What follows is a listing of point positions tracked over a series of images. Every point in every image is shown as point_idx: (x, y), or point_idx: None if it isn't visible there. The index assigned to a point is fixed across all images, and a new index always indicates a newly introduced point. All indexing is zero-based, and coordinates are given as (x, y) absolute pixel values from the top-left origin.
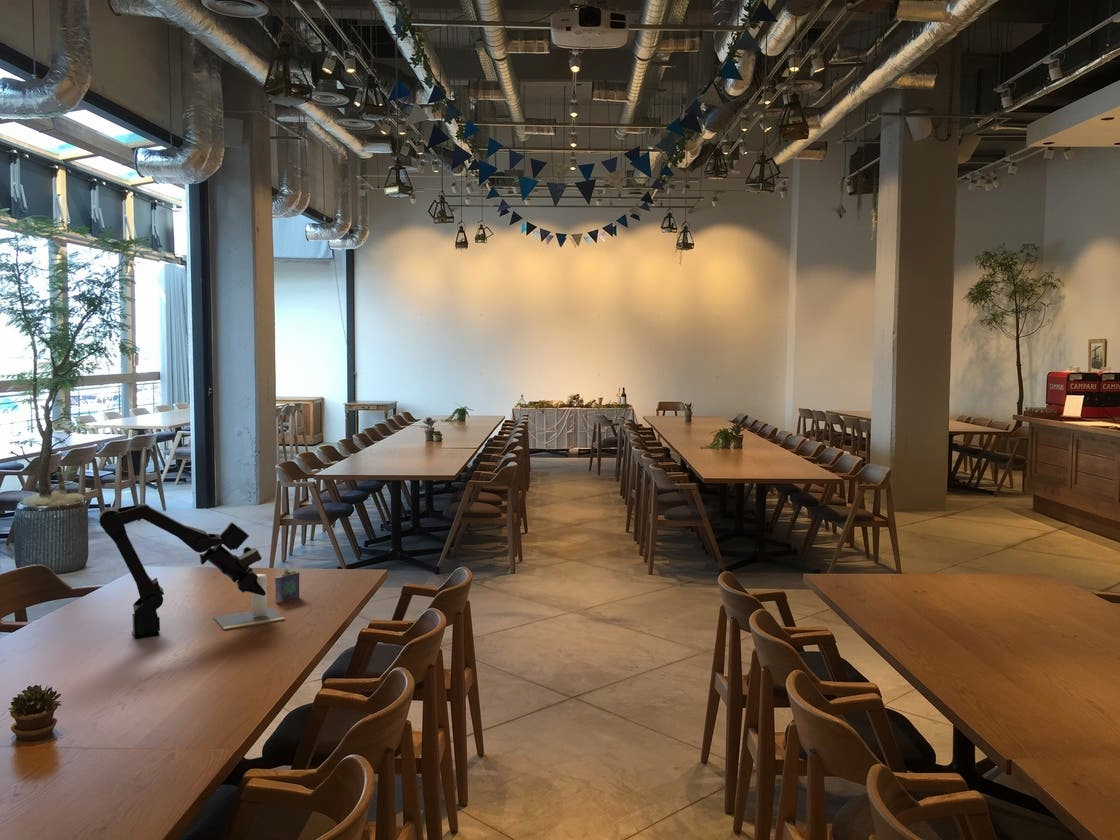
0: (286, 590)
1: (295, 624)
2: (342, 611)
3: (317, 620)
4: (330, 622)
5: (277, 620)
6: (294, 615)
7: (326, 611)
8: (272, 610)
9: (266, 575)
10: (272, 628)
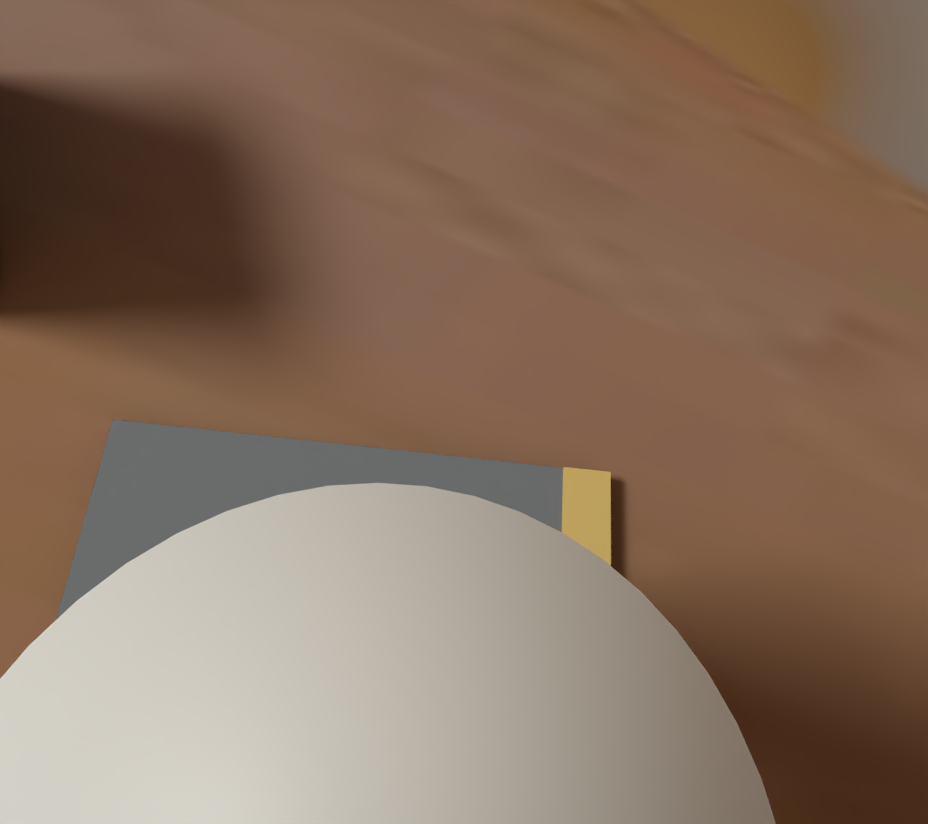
0: None
1: (779, 451)
2: (622, 41)
3: (755, 265)
4: (854, 219)
5: (608, 553)
6: (499, 344)
7: (551, 112)
8: (226, 459)
9: (540, 527)
10: (804, 688)
